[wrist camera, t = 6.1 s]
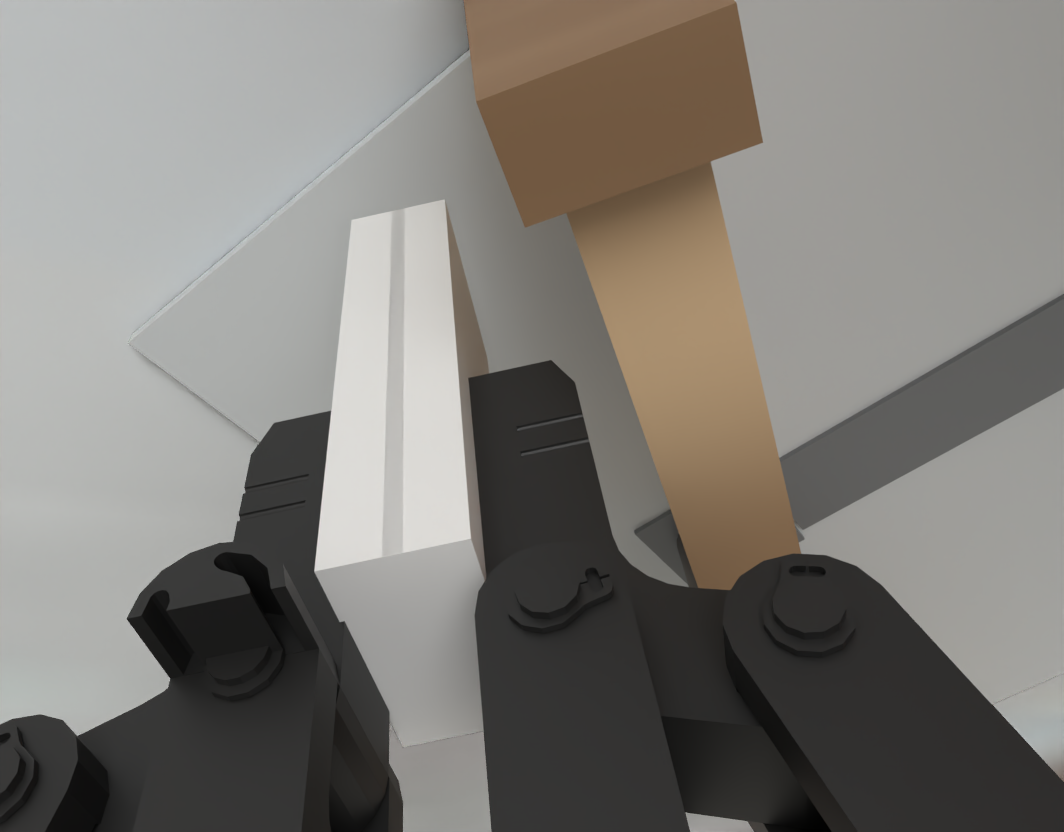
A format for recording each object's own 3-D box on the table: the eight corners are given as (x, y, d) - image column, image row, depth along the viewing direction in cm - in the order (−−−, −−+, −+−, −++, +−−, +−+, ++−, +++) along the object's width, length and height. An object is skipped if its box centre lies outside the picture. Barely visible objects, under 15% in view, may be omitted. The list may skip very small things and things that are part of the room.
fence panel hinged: (750, 484, 19) (895, 839, 13) (668, 510, 20) (774, 868, 14) (581, -157, 12) (736, 3, 6) (451, -103, 12) (476, 101, 6)
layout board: (1236, -599, 10) (1262, -609, 10) (1417, 503, 23) (1432, 515, 22) (131, 334, 16) (125, 347, 16) (749, 801, 29) (753, 814, 28)
